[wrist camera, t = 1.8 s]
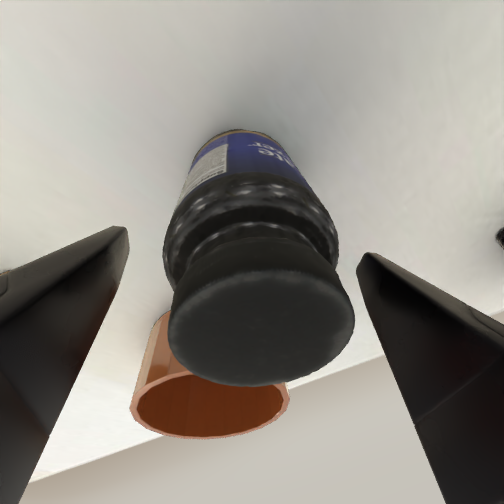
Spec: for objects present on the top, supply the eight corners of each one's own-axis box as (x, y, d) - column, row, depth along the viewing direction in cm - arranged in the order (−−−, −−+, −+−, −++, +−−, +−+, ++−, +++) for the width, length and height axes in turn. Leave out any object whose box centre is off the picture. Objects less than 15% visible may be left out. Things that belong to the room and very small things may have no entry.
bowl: (301, 331, 24) (320, 395, 20) (227, 384, 29) (228, 446, 24) (196, 277, 19) (186, 347, 14) (127, 353, 24) (102, 424, 19)
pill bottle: (311, 182, 16) (426, 334, 7) (241, 242, 18) (257, 416, 9) (241, 98, 13) (281, 169, 4) (167, 181, 15) (80, 353, 6)
